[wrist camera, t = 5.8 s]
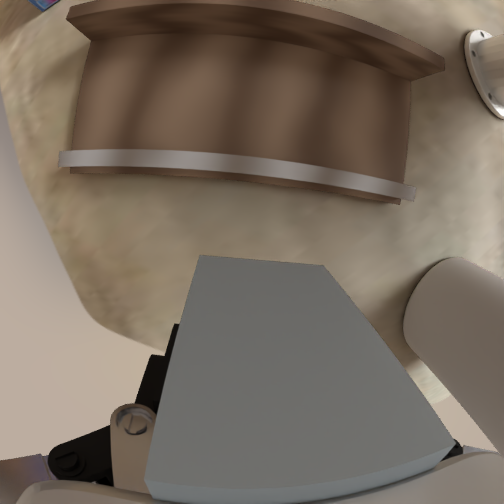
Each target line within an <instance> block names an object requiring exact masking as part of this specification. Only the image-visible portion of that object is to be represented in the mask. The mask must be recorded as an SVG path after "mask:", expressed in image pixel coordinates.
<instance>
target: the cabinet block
mask: <svg viewBox="0 0 504 504" xmlns="http://www.w3.org/2000/svg"><path fill="white" fill-rule="evenodd" d="M455 444H456V442H455V441H454V439H453V438H452V436H451V435H450V433H449V432H448V430H447V429H446V427H445V426H444V424H443V423H442V421H441V420H440V418H439V417H438V415H437V414H436V412H435V411H434V410H433V408H432V407H431V405H430V404H429V402H428V401H427V399H426V398H425V397H424V395H423V394H422V392H421V391H420V390H419V388H418V387H417V385H416V384H415V383H414V381H413V380H412V378H411V377H410V376H409V374H408V373H407V372H406V370H405V369H404V367H403V366H402V365H401V363H400V362H399V361H398V359H397V358H396V357H395V355H394V354H393V353H392V351H391V350H390V349H389V347H388V346H387V345H386V343H385V342H384V341H383V339H382V338H381V337H380V335H379V334H378V333H377V332H376V330H375V329H374V328H373V326H372V325H371V324H370V323H369V321H368V320H367V319H366V317H365V316H364V315H363V314H362V312H361V311H360V310H359V309H358V307H357V306H356V305H355V303H354V302H353V301H352V300H351V298H350V297H349V296H348V295H347V294H346V292H345V291H344V290H343V289H342V287H341V286H340V285H339V284H338V282H337V281H336V280H335V279H334V278H333V276H332V275H331V274H330V273H329V271H328V270H327V269H326V268H325V267H324V265H313V264H301V263H288V262H276V261H264V260H252V259H240V258H229V257H217V256H206V255H200V256H199V259H198V263H197V266H196V269H195V273H194V276H193V279H192V283H191V286H190V290H189V293H188V296H187V300H186V303H185V307H184V310H183V314H182V318H181V321H180V325H179V329H178V332H177V336H176V340H175V343H174V347H173V351H172V355H171V359H170V363H169V367H168V371H167V375H166V379H165V383H164V387H163V391H162V395H161V400H160V404H159V408H158V413H157V417H156V422H155V426H154V431H153V436H152V440H151V445H150V450H149V455H148V460H147V465H146V471H145V476H144V481H145V483H146V485H147V487H148V489H149V492H150V494H151V496H152V498H153V499H154V500H160V501H166V502H173V503H181V504H299V503H307V502H314V501H320V500H326V499H332V498H337V497H342V496H347V495H351V494H356V493H360V492H364V491H368V490H371V489H375V488H379V487H382V486H385V485H389V484H392V483H395V482H398V481H401V480H404V479H407V478H410V477H412V476H415V475H418V474H420V473H423V472H425V471H428V470H430V469H433V468H434V467H435V466H436V465H437V464H438V463H439V462H440V461H441V460H442V459H443V458H444V457H445V456H446V455H447V453H448V452H449V451H450V450H451V449H452V448H453V447H454V446H455Z"/></svg>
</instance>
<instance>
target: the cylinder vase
mask: <svg viewBox="0 0 504 504" xmlns="http://www.w3.org/2000/svg"><path fill="white" fill-rule="evenodd" d="M403 332H404V337H405V340H406V342H407V344H408V345H409V347H410V348H411V349H412V350H413V351H414V352H415V353H416V354H417V355H418V357H419V358H420V359H421V360H422V361H423V362H424V363H425V364H426V365H427V366H428V368H429V369H430V370H431V371H432V372H433V373H434V374H435V376H436V377H437V378H438V379H439V380H440V381H441V382H442V383H443V385H444V386H445V387H446V388H447V389H448V390H449V392H450V393H451V394H452V395H453V396H454V397H455V399H456V400H457V401H458V402H459V403H460V404H461V406H462V407H463V408H464V409H465V410H466V412H467V413H468V414H469V415H470V417H471V418H472V419H473V420H474V421H475V422H476V424H477V425H478V426H479V428H480V429H481V430H482V431H483V433H484V434H485V435H486V436H487V438H488V439H489V440H490V441H491V443H492V444H493V445H494V447H495V448H496V449H497V450H498V452H499V453H500V454H501V455H502V457H503V458H504V279H503V278H501V277H499V276H498V275H496V274H494V273H492V272H490V271H488V270H486V269H484V268H483V267H481V266H479V265H477V264H475V263H473V262H471V261H469V260H467V259H464V258H461V257H452V258H448V259H446V260H443V261H441V262H440V263H438V264H437V265H435V266H434V267H433V268H432V269H430V270H429V271H428V272H427V273H426V274H425V276H424V277H423V278H422V279H421V280H420V282H419V283H418V285H417V286H416V288H415V290H414V291H413V293H412V295H411V297H410V299H409V302H408V304H407V307H406V311H405V315H404V321H403Z"/></svg>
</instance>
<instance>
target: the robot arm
mask: <svg viewBox="0 0 504 504" xmlns="http://www.w3.org/2000/svg"><path fill="white" fill-rule="evenodd" d="M464 48H465V56H466V61H467V65H468V68H469V72H470V74H471V77H472V80H473V82H474V84H475V86H476V88H477V90H478V92H479V94H480V96H481V98H482V99H483V101H484V102H485V104H486V105H487V106H488V108H489V109H490V110H491V111H492V112H493V113H494V114H495V115H496V116H497V117H499V118H501V119H504V34H502V35H498V36H494V37H493V36H491V35H490V34H489V33H487V32H485V31H483V30H479V29H477V30H473V31H471V32H469V33H468V34H467V35H466V38H465V45H464ZM179 325H180V324H174V326H173V329H172V332H171V336H170V339H169V343H168V346H167V349H166V353H165V356H160V355H153V354H152V355H151V356H150V358H149V361H148V364H147V367H146V370H145V373H144V376H143V379H142V382H141V385H140V388H139V391H138V394H137V397H136V401H135V403H134V404H133V403H132V404H125V405H123V406H120V407H118V408H117V409H116V410H115V411H114V412H113V414H112V415H111V419H110V425H109V426H106V427H104V428H102V429H99V430H97V431H94V432H91V433H89V434H86V435H84V436H81V437H79V438H76V439H74V440H71V441H68V442H65V443H63V444H60V445H58V446H56V447H54V448H53V449H52V450H51V451H50V453H49V455H46V456H42V455H41V454H36V455H32V456H26V457H20V458H14V459H8V460H1V461H0V504H181V503H173V502H166V501H160V500H154V499H153V498H152V496H151V494H150V492H149V489H148V487H147V485H146V483H145V481H144V476H145V471H146V465H147V460H148V455H149V450H150V445H151V440H152V436H153V431H154V426H155V422H156V417H157V413H158V408H159V404H160V400H161V395H162V391H163V387H164V383H165V379H166V375H167V371H168V367H169V363H170V359H171V355H172V351H173V347H174V343H175V340H176V336H177V332H178V329H179ZM454 441H455V442H456V444H455V446H454V447H453V448H452V449H451V450H450V451H449V452H448V453H447V455H446V456H445V457H444V458H443V459H442V460H441V461H440V462H439V463H438V464H437V465H436V466H435V467H434V468H433V469H430V470H428V471H425V472H423V473H420V474H418V475H415V476H412V477H410V478H407V479H404V480H401V481H398V482H395V483H392V484H389V485H385V486H382V487H379V488H375V489H371V490H368V491H364V492H360V493H356V494H351V495H347V496H342V497H337V498H332V499H326V500H320V501H314V502H307V503H299V504H504V458H503V457H502V455H500V454H499V453H498V452H495V451H490V450H485V449H479V448H474V447H470V446H465V445H464V446H463V447H461V446H460V444H459V442H458V441H457V440H455V439H454Z"/></svg>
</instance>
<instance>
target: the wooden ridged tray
mask: <svg viewBox="0 0 504 504" xmlns="http://www.w3.org/2000/svg"><path fill="white" fill-rule="evenodd" d="M66 20H67V21H69V22H70V23H71V24H72V25H73V26H75V27H76V28H77V29H78V30H79V31H80V32H82V33H83V34H84V35H85V36H86V37H87V38H89V39H90V40H91V44H90V48H89V52H88V56H87V60H86V64H85V68H84V72H83V77H82V82H81V87H80V92H79V97H78V103H77V110H76V116H75V124H74V132H73V141H72V151H59V164H58V167H70V173H119V174H151V175H172V176H188V177H202V178H215V179H226V180H237V181H247V182H256V183H265V184H274V185H282V186H290V187H297V188H305V189H312V190H318V191H325V192H332V193H338V194H344V195H350V196H356V197H361V198H367V199H372V200H378V201H383V202H388V203H393V204H398V205H400V202H401V199H405V200H409V201H414V199H415V192H416V187H413V186H409V185H405V184H403V182H404V174H405V166H406V157H407V148H408V136H409V122H410V98H411V81H413V80H416V79H419V78H422V77H425V76H428V75H431V74H434V73H438V72H441V71H444V70H445V64H444V58H443V57H441V56H440V55H438V54H436V53H434V52H433V51H431V50H429V49H427V48H425V47H423V46H421V45H419V44H417V43H415V42H413V41H411V40H409V39H407V38H405V37H403V36H401V35H398V34H396V33H394V32H392V31H389V30H387V29H384V28H382V27H380V26H377V25H374V24H372V23H369V22H367V21H364V20H361V19H358V18H355V17H352V16H349V15H346V14H343V13H340V12H337V11H333V10H330V9H326V8H322V7H319V6H315V5H311V4H306V3H302V2H298V1H293V0H96V1H91V2H87V3H83V4H79V5H75V6H71V7H70V10H69V12H68V15H67V18H66Z"/></svg>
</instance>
